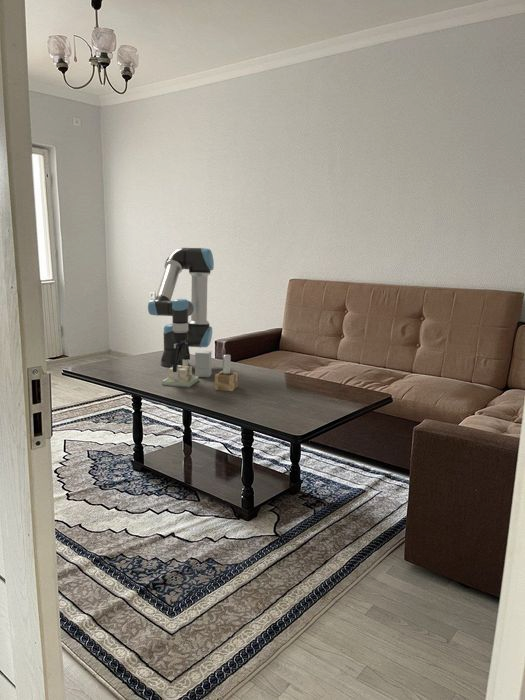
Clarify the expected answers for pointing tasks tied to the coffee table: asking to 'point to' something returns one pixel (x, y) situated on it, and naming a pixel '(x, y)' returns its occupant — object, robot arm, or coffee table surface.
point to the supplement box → (203, 363)
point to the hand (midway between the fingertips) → (180, 375)
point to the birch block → (181, 374)
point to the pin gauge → (226, 364)
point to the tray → (180, 384)
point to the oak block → (226, 381)
